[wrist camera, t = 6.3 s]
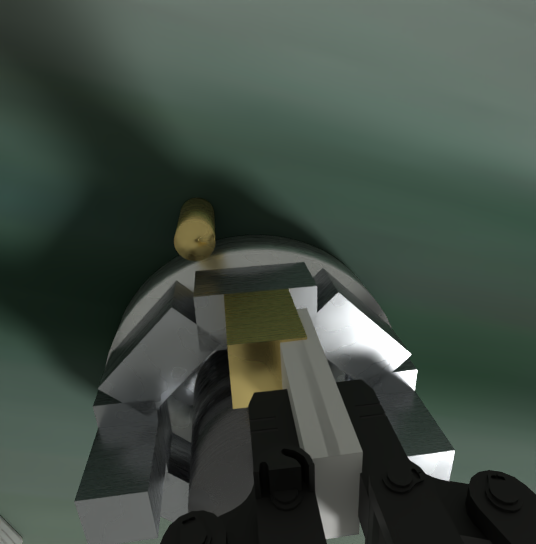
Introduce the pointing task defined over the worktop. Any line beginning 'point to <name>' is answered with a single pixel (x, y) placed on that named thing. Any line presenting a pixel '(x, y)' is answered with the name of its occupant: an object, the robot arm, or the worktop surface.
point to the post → (195, 230)
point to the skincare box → (8, 534)
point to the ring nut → (244, 383)
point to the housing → (225, 368)
